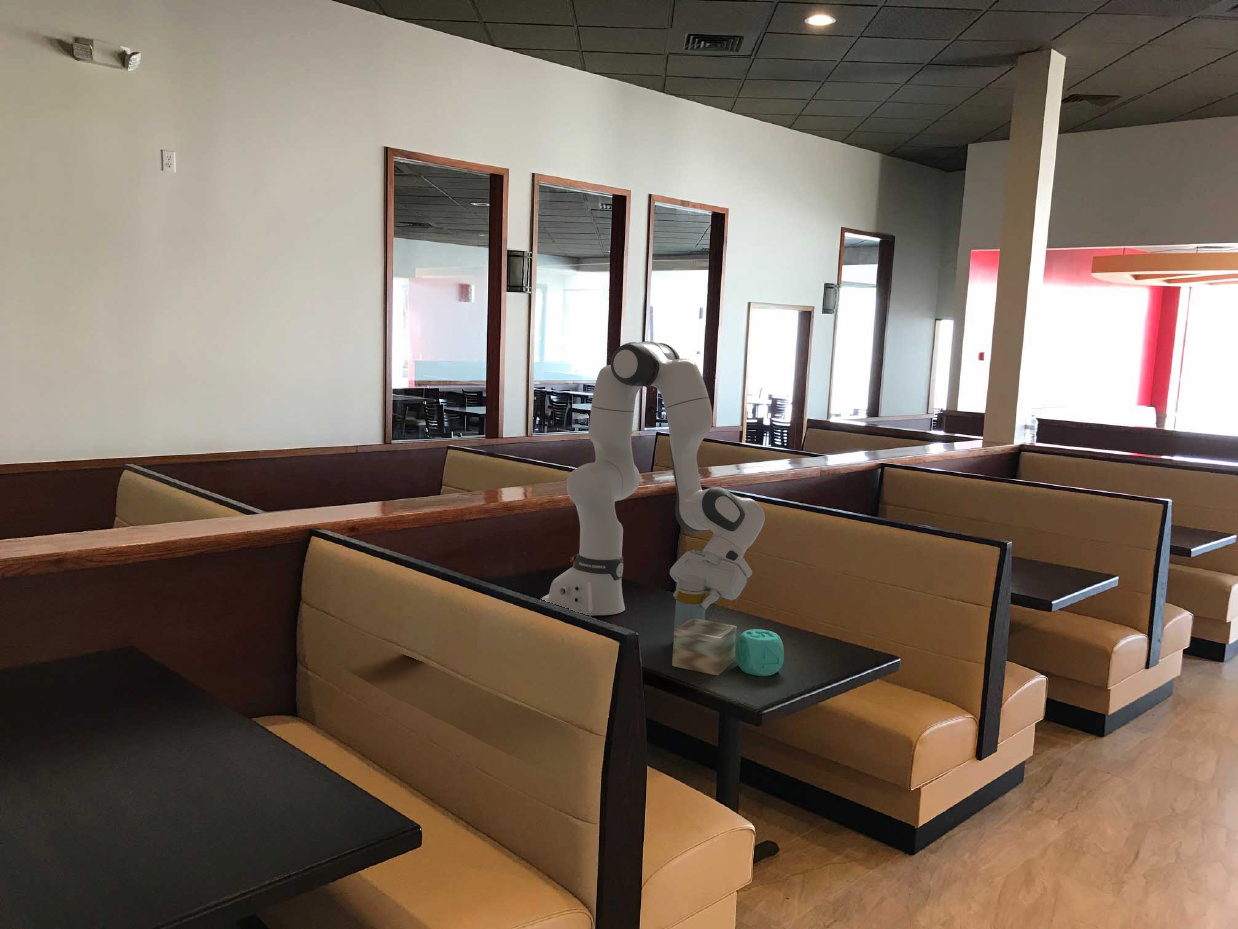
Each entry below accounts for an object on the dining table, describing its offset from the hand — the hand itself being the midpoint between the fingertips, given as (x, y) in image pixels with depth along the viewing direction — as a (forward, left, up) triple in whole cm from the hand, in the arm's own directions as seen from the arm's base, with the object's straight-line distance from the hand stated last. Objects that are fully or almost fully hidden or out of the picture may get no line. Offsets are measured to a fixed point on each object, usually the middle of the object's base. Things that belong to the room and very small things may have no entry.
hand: (689, 602), depth 217 cm
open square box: (+8, -11, -10) cm, 17 cm away
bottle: (0, +1, -9) cm, 9 cm away
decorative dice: (+20, -8, -10) cm, 24 cm away
